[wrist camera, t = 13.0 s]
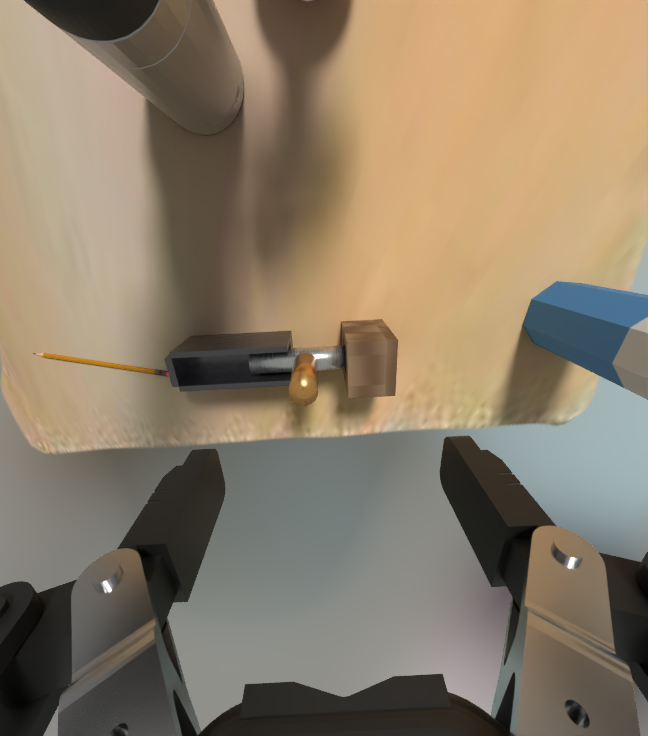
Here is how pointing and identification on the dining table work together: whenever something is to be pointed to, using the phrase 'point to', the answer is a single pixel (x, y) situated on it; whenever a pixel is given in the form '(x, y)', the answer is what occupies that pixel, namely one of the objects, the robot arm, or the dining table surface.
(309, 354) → the tube
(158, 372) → the pencil
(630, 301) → the water bottle
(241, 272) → the dining table surface
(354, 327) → the socket block
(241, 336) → the sleeve
